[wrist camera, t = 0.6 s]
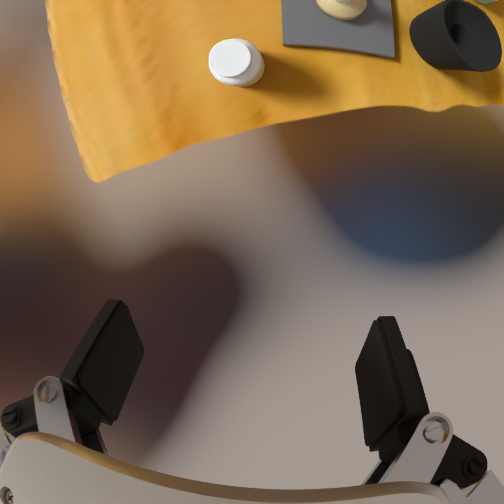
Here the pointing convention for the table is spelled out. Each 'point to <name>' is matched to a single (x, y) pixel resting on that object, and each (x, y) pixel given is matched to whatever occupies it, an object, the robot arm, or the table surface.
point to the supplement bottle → (236, 62)
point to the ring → (485, 1)
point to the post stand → (340, 25)
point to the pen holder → (456, 37)
